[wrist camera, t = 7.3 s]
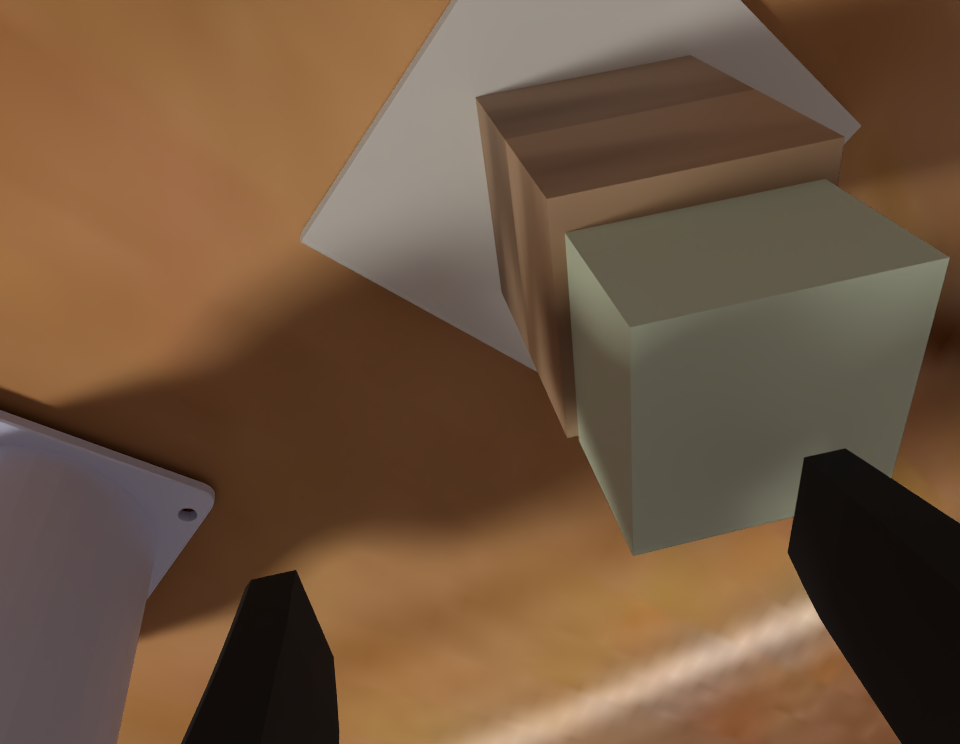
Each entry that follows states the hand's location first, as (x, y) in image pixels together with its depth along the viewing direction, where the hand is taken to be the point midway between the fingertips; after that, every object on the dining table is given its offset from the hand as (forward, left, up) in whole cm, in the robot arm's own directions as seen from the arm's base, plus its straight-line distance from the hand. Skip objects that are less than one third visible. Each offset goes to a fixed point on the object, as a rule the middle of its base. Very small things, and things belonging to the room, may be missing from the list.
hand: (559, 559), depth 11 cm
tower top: (+3, -2, -7) cm, 8 cm away
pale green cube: (+3, -2, -4) cm, 5 cm away
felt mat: (+3, -2, -10) cm, 11 cm away
